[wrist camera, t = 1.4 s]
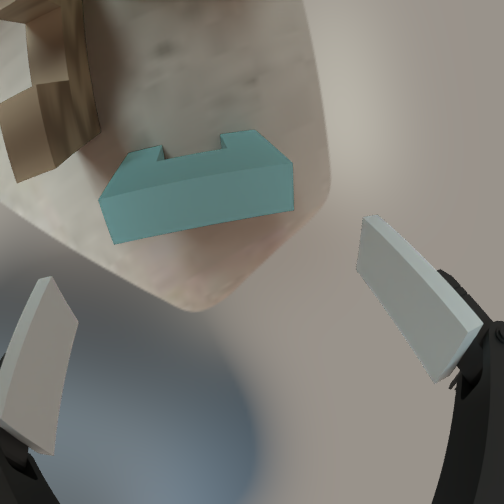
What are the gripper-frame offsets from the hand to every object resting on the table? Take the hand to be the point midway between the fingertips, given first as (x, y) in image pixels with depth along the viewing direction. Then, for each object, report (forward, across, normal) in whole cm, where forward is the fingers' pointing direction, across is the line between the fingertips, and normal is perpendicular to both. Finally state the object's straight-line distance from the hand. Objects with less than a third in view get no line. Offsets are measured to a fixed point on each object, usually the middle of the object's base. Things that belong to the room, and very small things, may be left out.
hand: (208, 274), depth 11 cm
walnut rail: (+16, -9, +12) cm, 22 cm away
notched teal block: (+16, 0, 0) cm, 16 cm away
